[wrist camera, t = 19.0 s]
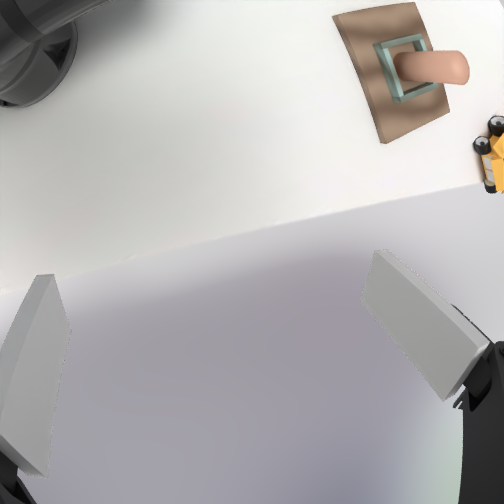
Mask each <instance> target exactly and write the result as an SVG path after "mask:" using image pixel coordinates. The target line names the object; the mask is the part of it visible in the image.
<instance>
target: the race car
mask: <svg viewBox="0 0 504 504" xmlns="http://www.w3.org/2000/svg"><path fill="white" fill-rule="evenodd" d="M489 125H490V128H491V132H492V134H493V136H492V137H491V138H490V139H488V138H487V137H478V138H476V140H475V141H474V145H475V149H476V152H477V153H478V154H480V155H481V157H482V161H483V165H484V169H485V173H486V179H485V180H484V184H485V189H486V191H487V192H488V193H496V192H497V191H503V192H502V193H504V117H503V116H494V117H492V118H491V119H490V120H489Z"/></svg>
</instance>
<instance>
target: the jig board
mask: <svg viewBox="0 0 504 504" xmlns="http://www.w3.org/2000/svg"><path fill="white" fill-rule="evenodd" d="M333 19H334V22H335V24H336V26H337V28H338V30H339V32H340V34H341V36H342V39H343V41H344V43H345V45H346V48H347V50H348V52H349V55H350V57H351V60H352V62H353V64H354V67H355V69H356V72H357V74H358V77H359V80H360V82H361V85H362V88H363V90H364V93H365V96H366V99H367V101H368V104H369V107H370V110H371V113H372V116H373V119H374V122H375V125H376V129H377V132H378V135H379V138H380V142H381V143H384V144H387V143H389V142H391V141H393V140H395V139H397V138H399V137H401V136H403V135H405V134H407V133H409V132H411V131H413V130H415V129H417V128H419V127H421V126H423V125H425V124H427V123H429V122H431V121H433V120H435V119H437V118H439V117H441V116H443V115H445V114H447V113H449V112H450V109H449V104H448V100H447V96H446V92H445V88H444V84H443V83H435V82H420V81H404V80H401V79H400V78H399V77H398V76H397V73H396V70H395V67H394V64H393V59H394V57H395V55H396V54H398V53H401V52H417V51H433V48H432V45H431V42H430V39H429V37H428V34H427V31H426V29H425V26H424V23H423V21H422V18H421V16H420V14H419V11H418V9H417V6H416V4H415V2H410V3H401V4H393V5H386V6H379V7H373V8H368V9H362V10H357V11H352V12H347V13H343V14H339V15H336V16H333Z"/></svg>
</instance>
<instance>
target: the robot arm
mask: <svg viewBox="0 0 504 504" xmlns="http://www.w3.org/2000/svg"><path fill="white" fill-rule="evenodd" d="M110 1H112V0H0V106H1V107H6V108H18V107H25V106H29V105H32V104H34V103H36V102H38V101H40V100H41V99H43V98H44V97H46V96H47V95H48V94H50V93H51V92H52V91H53V90H54V89H55V88H56V87H57V86H58V85H59V83H60V82H61V81H62V80H63V78H64V77H65V75H66V74H67V72H68V70H69V68H70V66H71V64H72V62H73V59H74V56H75V52H76V48H77V29H76V26H75V23H74V21H73V20H74V19H76V18H78V17H79V16H81V15H83V14H85V13H87V12H89V11H91V10H93V9H95V8H97V7H99V6H101V5H103V4H105V3H107V2H110ZM360 301H361V302H362V304H363V305H364V306H365V307H366V308H367V309H368V311H369V312H370V313H371V314H372V315H373V316H374V318H375V319H376V320H377V321H378V322H379V323H380V325H381V326H382V327H383V328H384V329H385V331H386V332H387V333H388V334H389V335H390V337H391V338H392V339H393V340H394V341H395V342H396V344H397V345H398V346H399V347H400V349H401V350H402V351H403V352H404V353H405V355H406V356H407V357H408V358H409V360H410V361H411V362H412V363H413V365H414V366H415V367H416V368H417V369H418V371H419V372H420V373H421V375H422V376H423V377H424V378H425V380H426V381H427V382H428V383H429V385H430V386H431V387H432V389H433V390H434V391H435V392H436V394H437V395H438V396H439V397H440V399H441V400H442V401H444V400H446V399H447V398H450V397H451V396H453V395H455V393H456V392H457V391H458V389H459V388H460V387H461V385H462V384H463V385H464V386H465V387H466V388H465V390H464V391H463V392H462V394H461V395H460V396H459V398H458V399H457V400H456V401H455V403H454V405H453V408H456V406H457V405H458V404H459V403H460V402H461V401H462V403H461V405H460V406H459V408H458V409H462V410H463V456H462V473H461V484H460V493H459V502H458V504H504V341H498V342H496V344H494V343H493V342H492V341H491V340H490V339H489V338H488V337H487V336H486V335H485V334H484V333H483V332H482V331H481V330H479V328H478V327H477V326H476V325H474V324H473V323H472V322H470V320H469V319H468V318H467V317H466V316H464V315H463V313H462V312H461V311H460V310H459V309H457V308H456V307H455V306H454V305H452V304H450V303H449V302H448V301H447V300H446V299H445V298H443V297H442V296H441V295H440V294H439V293H438V292H437V291H436V290H434V289H433V288H432V287H431V286H430V285H429V284H428V283H427V282H425V281H424V280H423V279H422V278H421V277H420V276H419V275H417V274H416V273H415V272H414V271H413V270H411V269H410V268H409V267H408V266H407V265H406V264H404V263H403V262H402V261H400V259H398V258H397V257H396V256H395V255H393V254H392V253H391V252H390V251H389V250H376V251H374V254H373V258H372V262H371V266H370V269H369V273H368V276H367V280H366V284H365V287H364V290H363V294H362V297H361V300H360ZM71 332H72V330H71V327H70V325H69V322H68V319H67V316H66V313H65V310H64V307H63V304H62V301H61V298H60V294H59V291H58V288H57V284H56V281H55V277H54V274H48V275H37V276H36V277H35V279H34V281H33V283H32V285H31V287H30V289H29V290H28V293H27V294H26V296H25V298H24V300H23V302H22V304H21V306H20V308H19V310H18V312H17V314H16V316H15V319H14V321H13V323H12V325H11V327H10V330H9V332H8V334H7V336H6V339H5V341H4V343H3V346H2V348H1V351H0V504H36V502H35V501H34V499H33V498H32V496H31V495H30V493H29V492H28V490H27V489H26V487H25V485H24V484H23V482H22V481H21V479H20V478H19V477H18V476H17V470H18V468H19V469H21V470H22V471H23V472H24V473H26V474H27V475H30V476H36V477H41V478H48V474H49V459H50V447H51V438H52V429H53V422H54V414H55V408H56V402H57V396H58V391H59V385H60V380H61V375H62V370H63V365H64V361H65V356H66V352H67V348H68V344H69V340H70V335H71Z"/></svg>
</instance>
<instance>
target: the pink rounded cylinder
mask: <svg viewBox="0 0 504 504" xmlns="http://www.w3.org/2000/svg"><path fill="white" fill-rule="evenodd" d="M393 64H394V67H395V70H396V73H397V76H398V77H399V78H400V79H401V80H404V81H420V82H435V83H447V84H457V85H464V84H466V83H467V82H468V79H469V73H470V72H469V65H468V62H467V60H466V58H465V56H464V55H463V54H462V53H461V52H459V51H417V52H401V53H398V54H396V55H395V57H394V59H393Z"/></svg>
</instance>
